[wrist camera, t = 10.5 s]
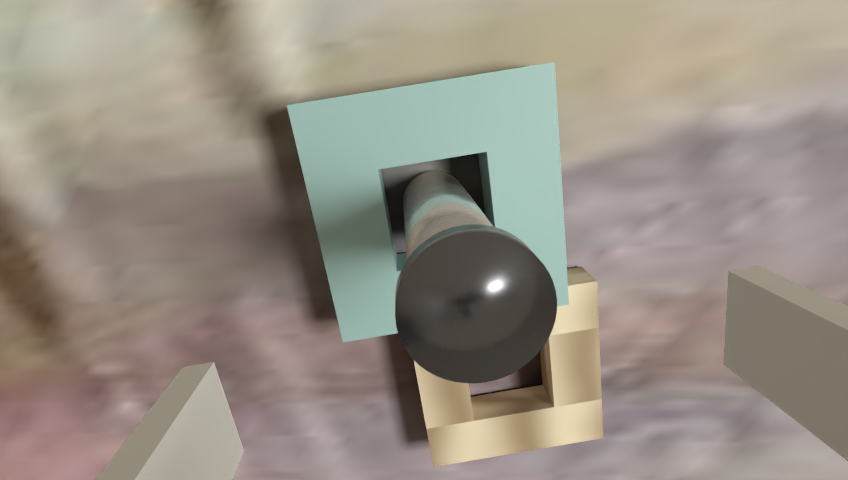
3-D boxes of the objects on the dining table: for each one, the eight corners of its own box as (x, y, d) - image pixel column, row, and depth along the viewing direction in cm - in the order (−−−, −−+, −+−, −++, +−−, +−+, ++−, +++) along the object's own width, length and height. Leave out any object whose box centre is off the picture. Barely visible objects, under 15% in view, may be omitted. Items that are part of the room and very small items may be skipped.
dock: (347, 319, 30) (342, 342, 27) (298, 104, 26) (286, 105, 23) (552, 285, 30) (569, 304, 28) (537, 66, 26) (554, 62, 23)
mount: (430, 440, 34) (433, 466, 31) (404, 296, 30) (405, 313, 28) (588, 413, 34) (602, 437, 32) (581, 266, 30) (597, 281, 28)
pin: (401, 246, 29) (408, 394, 15) (388, 169, 27) (382, 250, 13) (478, 234, 29) (561, 369, 15) (469, 156, 28) (552, 223, 13)
